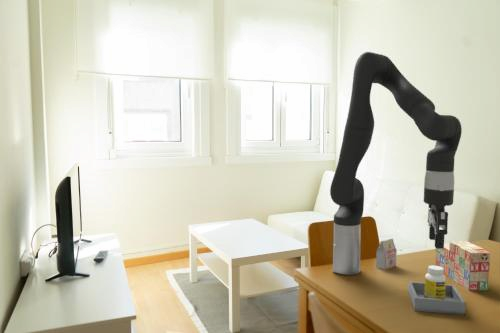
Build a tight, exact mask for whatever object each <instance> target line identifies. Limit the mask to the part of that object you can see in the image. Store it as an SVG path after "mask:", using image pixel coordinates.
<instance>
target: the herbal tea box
mask: <svg viewBox="0 0 500 333" xmlns="http://www.w3.org/2000/svg"><path fill="white" fill-rule="evenodd" d="M375 257H376V259H375V260H376V262H375V267H376V268H378V269H381V270H384V271H385V270H389V269H391V268H395V267H397V248H396V244H395V243H394V238H388V239H385V240H381V241H380V243H379V245H378V247H377V249H376V256H375Z"/></svg>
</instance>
